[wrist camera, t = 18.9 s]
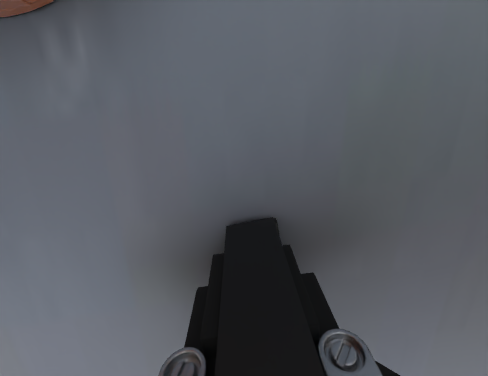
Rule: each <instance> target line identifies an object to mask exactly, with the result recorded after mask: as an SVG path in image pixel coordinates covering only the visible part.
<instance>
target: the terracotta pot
mask: <svg viewBox="0 0 488 376" xmlns="http://www.w3.org/2000/svg"><path fill="white" fill-rule="evenodd" d="M53 1H54V0H0V17H10V16H14V15H18V14H22V13H26V12H30V11H33V10H35V9H37V8H40V7H42V6H44V5H46V4H49V3H51V2H53Z"/></svg>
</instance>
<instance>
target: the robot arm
mask: <svg viewBox="0 0 488 376" xmlns="http://www.w3.org/2000/svg"><path fill="white" fill-rule="evenodd" d="M283 249H284V253H285V256H286V259H287V262H288V265H289V268H290V271H291V274H292V277H293V280H294V283H295V286H296V289H297V292H298V295H299V298H300V302H301V305H302V308H303V311H304V314H305V317H306V320H307V323H308V326H309V329H310V332H311V335H312V338H313V341H314V344H315V347H316V351H317V354H318V357H319V360H320V363H321V366H322V369H323V372H324V375H325V376H400V375H398V374H397V373H395V372H393V371H392V370H390V369H388V368H387V367H385V366H383V365H381V364H380V363H378V362H376V361H375V360H374V358H373V356H372V354H371V353H370V351H369V349H368V347H367V346H366V344H365V343H364V342H363V340H361V339H360V338H359V337H358V336H357V335H355V334H353V333H352V332H350V331H347V330H343V329H339V327H338V325H337V323H336V321H335V318H334V316H333V314H332V312H331V310H330V307H329V305H328V303H327V301H326V299H325V296H324V294H323V292H322V290H321V288H320V285H319V283H318V281H317V279H316V277H315V275H314V273H313V272H312V273H305V274H301V273H300V271H299V268H298V265H297V263H296V260H295V257H294V255H293V252H292V249H291V247H290V245H283ZM223 264H224V253H223V254H215V255H213V259H212V265H211V271H210V278H209V284H208V286H205V287H198V289H197V292H196V296H195V301H194V305H193V310H192V314H191V319H190V323H189V328H188V333H187V337H186V342H185V346H184V348H182V349H180V350H178V351H176V352H174V353H173V354H172V355H171V356H170V357H169V358H167V360H166V361H165V363H164V364H163V365H162V367H161V370H160V372H159V375H158V376H215V365H216V352H217V340H218V327H219V315H220V302H221V289H222V277H223Z"/></svg>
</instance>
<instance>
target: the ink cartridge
mask: <svg viewBox="0 0 488 376" xmlns="http://www.w3.org/2000/svg"><path fill="white" fill-rule="evenodd" d="M215 376H325V375H324V372H323V369H322V366H321V363H320V360H319V357H318V354H317V351H316V347H315V344H314V341H313V338H312V335H311V332H310V329H309V326H308V323H307V320H306V317H305V314H304V311H303V308H302V305H301V302H300V298H299V295H298V292H297V289H296V286H295V283H294V280H293V277H292V274H291V271H290V268H289V265H288V262H287V259H286V256H285V253H284V249H283V246H282V243H281V240H280V237H279V231H278V224H277V220H276V218H267V219H262V220H256V221H251V222H245V223H240V224H234V225H229V226H226V239H225V251H224V264H223V277H222V289H221V302H220V315H219V327H218V340H217V352H216V365H215Z"/></svg>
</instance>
